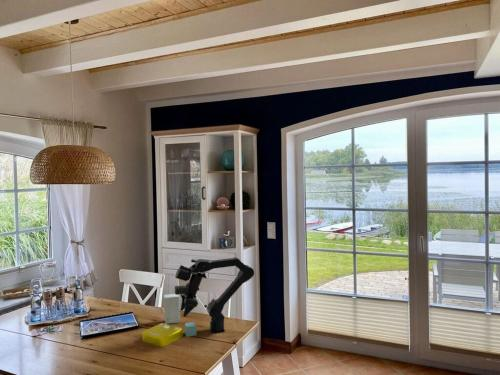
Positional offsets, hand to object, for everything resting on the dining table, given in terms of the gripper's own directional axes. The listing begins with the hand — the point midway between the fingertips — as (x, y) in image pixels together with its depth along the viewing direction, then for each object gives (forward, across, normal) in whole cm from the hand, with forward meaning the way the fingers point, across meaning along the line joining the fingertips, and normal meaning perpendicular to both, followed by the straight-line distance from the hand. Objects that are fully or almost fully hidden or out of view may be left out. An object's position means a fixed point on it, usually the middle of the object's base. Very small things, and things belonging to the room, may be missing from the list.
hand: (182, 313), depth 191 cm
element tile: (+15, 0, -5) cm, 15 cm away
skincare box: (+12, -20, +1) cm, 23 cm away
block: (+9, 0, +8) cm, 12 cm away
